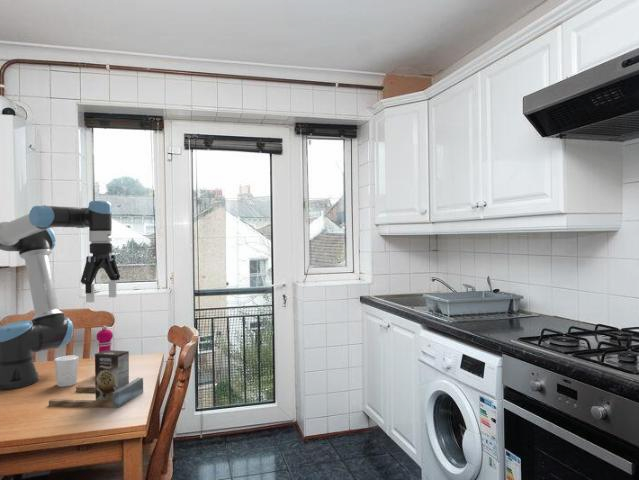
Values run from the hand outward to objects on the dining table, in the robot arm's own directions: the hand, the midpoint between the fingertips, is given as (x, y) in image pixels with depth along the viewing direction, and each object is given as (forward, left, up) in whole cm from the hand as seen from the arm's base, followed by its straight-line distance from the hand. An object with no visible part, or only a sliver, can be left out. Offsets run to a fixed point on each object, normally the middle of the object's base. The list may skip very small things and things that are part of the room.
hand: (101, 299), depth 165 cm
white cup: (-17, +3, -33) cm, 37 cm away
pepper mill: (-9, +15, -33) cm, 37 cm away
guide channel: (+4, -11, -33) cm, 35 cm away
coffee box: (+10, -11, -33) cm, 36 cm away
